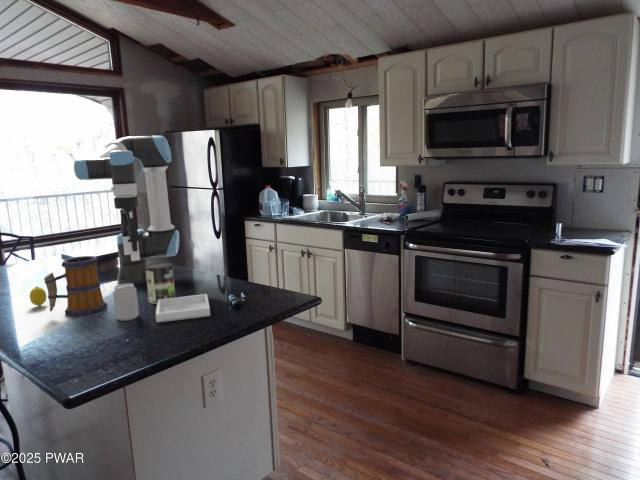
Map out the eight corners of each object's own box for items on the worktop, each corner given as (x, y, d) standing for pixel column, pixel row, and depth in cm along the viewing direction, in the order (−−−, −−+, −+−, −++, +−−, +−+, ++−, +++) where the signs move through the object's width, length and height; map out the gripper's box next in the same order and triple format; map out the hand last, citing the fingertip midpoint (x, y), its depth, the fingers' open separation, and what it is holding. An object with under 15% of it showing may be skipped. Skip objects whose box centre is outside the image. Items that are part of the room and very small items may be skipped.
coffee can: (180, 296, 194) (177, 262, 191) (167, 304, 184) (164, 268, 181) (157, 295, 196) (153, 262, 193) (143, 303, 186) (139, 268, 183)
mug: (51, 324, 166) (42, 268, 163) (48, 313, 178) (41, 260, 175) (110, 312, 176) (104, 259, 173) (104, 303, 188) (98, 253, 185)
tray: (158, 306, 181) (157, 299, 180) (207, 301, 186) (206, 293, 185) (156, 322, 164) (155, 314, 163) (210, 316, 169) (209, 307, 168)
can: (134, 321, 166) (130, 288, 164) (112, 322, 166) (108, 288, 164) (142, 314, 173) (138, 282, 171) (121, 314, 173) (118, 282, 171)
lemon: (45, 303, 191) (42, 283, 189) (49, 306, 187) (46, 286, 185) (29, 306, 187) (26, 287, 186) (33, 309, 183) (30, 289, 182)
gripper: (108, 195, 173) (115, 253, 176) (119, 199, 152) (126, 264, 155) (130, 194, 177) (136, 250, 180) (144, 197, 155) (150, 261, 159)
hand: (132, 257), depth 168 cm, fingers open, 13 cm apart
